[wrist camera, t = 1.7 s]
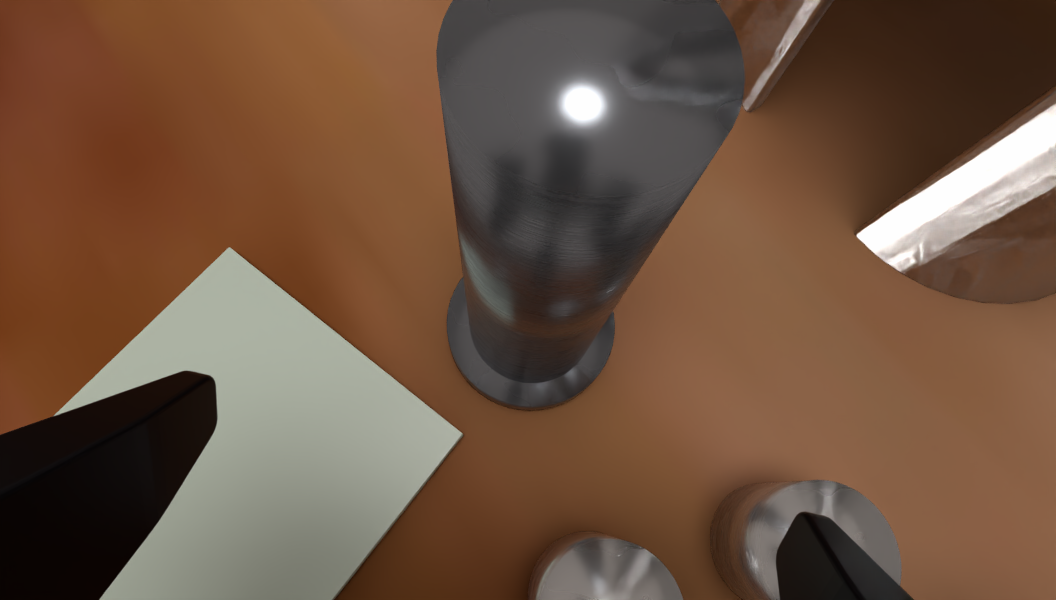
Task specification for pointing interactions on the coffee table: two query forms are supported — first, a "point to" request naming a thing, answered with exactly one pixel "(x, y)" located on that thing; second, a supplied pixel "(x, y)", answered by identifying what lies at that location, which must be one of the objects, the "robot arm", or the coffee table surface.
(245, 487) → the pad
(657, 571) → the cylinder
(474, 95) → the standoff
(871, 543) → the cylinder
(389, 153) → the coffee table surface
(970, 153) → the grey metal tall arch
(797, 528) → the robot arm
